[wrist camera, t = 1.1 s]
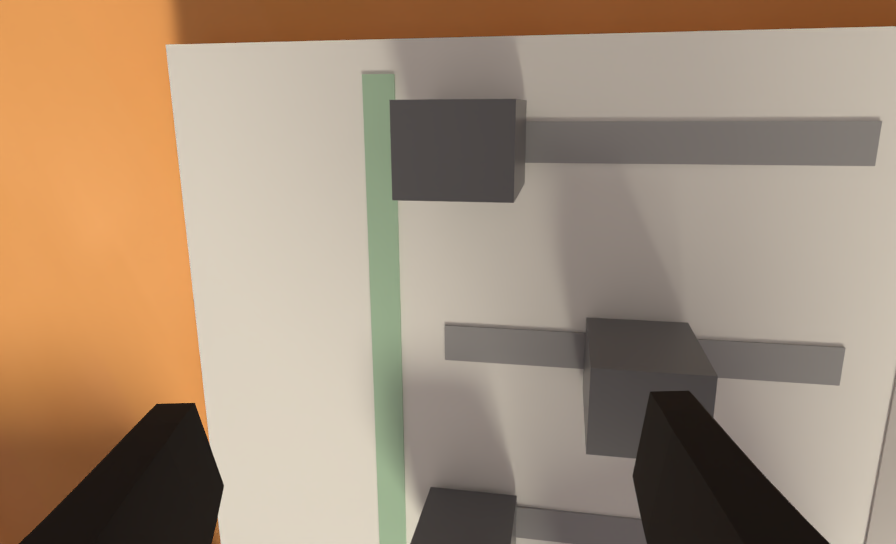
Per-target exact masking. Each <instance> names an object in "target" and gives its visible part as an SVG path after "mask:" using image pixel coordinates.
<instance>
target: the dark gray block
mask: <svg viewBox="0 0 896 544" xmlns="http://www.w3.org/2000/svg"><path fill="white" fill-rule="evenodd" d="M717 380H718V376H717V374H716V372H715V370H714V368H713V367H712V365H711V363H710V361H709V359H708V358H707V356H706V354H705V352H704V350H703V349H702V347H701V345H700V343H699V341H698V340H697V338H696V336H695V334H694V332H693V331H692V329H691V327H690V325H689V323H685V322H665V321H646V320H626V319H607V318H587V317H586V333H585V352H584V371H583V406H584V425H585V445H586V454H589V455H600V456H612V457H623V458H634V459H636V456H637V451H638V447H639V442H640V437H641V432H642V427H643V422H644V418H645V413H646V408H647V403H648V398H649V394H650V391H690V392H691V393H692V394H693V395H694V396H695V397H696V398H697V399H698V401H699V402H700V403H701V404H702V405H703V406H704V408H705V409H706V410H707V411H708V412H709V413H710V414H711V416H712V417H714V408H715V398H716V389H717Z"/></svg>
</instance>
